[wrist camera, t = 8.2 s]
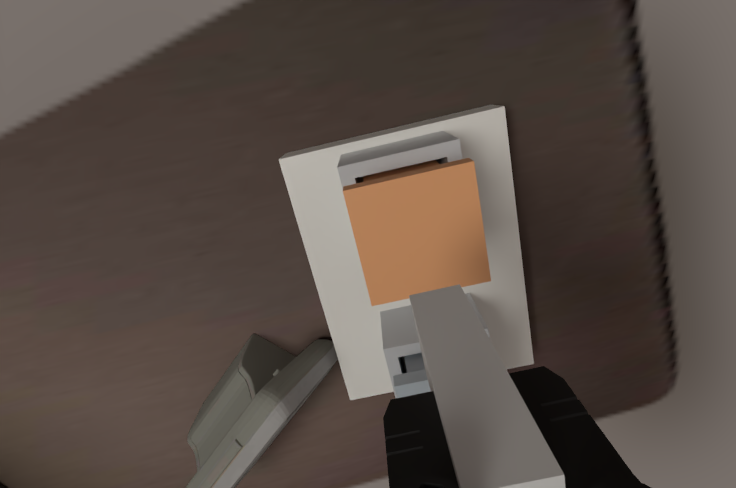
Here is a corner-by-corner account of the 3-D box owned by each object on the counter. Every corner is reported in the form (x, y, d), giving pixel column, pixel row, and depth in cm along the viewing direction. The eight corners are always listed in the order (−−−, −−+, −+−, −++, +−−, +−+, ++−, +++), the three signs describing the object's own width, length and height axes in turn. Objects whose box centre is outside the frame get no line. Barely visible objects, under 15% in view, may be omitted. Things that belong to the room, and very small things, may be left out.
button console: (351, 377, 38) (348, 448, 30) (286, 153, 31) (262, 173, 24) (520, 342, 37) (561, 407, 29) (491, 104, 30) (534, 109, 23)
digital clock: (243, 463, 41) (205, 584, 31) (168, 408, 39) (101, 519, 29) (367, 365, 38) (369, 465, 28) (291, 297, 35) (264, 380, 25)
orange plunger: (369, 249, 29) (371, 306, 21) (347, 162, 27) (342, 190, 19) (456, 230, 29) (491, 281, 21) (442, 140, 27) (473, 161, 19)
